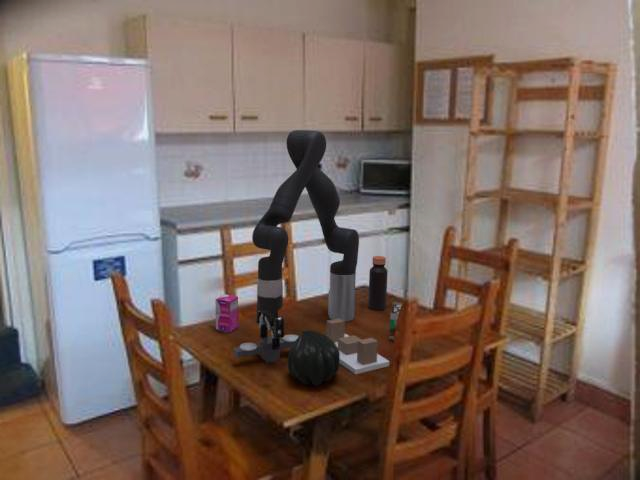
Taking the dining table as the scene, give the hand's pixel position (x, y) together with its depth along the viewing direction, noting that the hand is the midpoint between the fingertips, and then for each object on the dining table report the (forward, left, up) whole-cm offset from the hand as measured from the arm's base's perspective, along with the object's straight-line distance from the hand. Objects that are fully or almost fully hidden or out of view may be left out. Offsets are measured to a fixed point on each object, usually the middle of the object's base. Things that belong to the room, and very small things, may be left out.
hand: (269, 344), depth 168 cm
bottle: (-23, +56, -5) cm, 61 cm away
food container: (+4, +46, -5) cm, 47 cm away
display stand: (+9, +23, -5) cm, 25 cm away
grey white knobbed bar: (0, 0, -5) cm, 5 cm away
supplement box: (-28, -3, -5) cm, 29 cm away
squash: (+18, +5, -5) cm, 19 cm away
